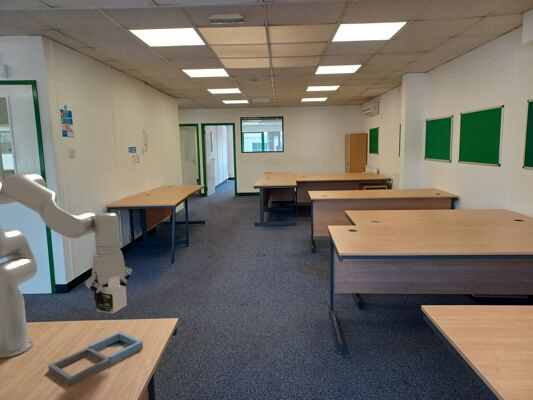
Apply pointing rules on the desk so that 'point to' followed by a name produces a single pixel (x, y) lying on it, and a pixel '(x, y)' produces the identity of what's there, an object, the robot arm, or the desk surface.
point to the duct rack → (95, 357)
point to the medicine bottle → (112, 296)
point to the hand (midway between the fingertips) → (111, 298)
